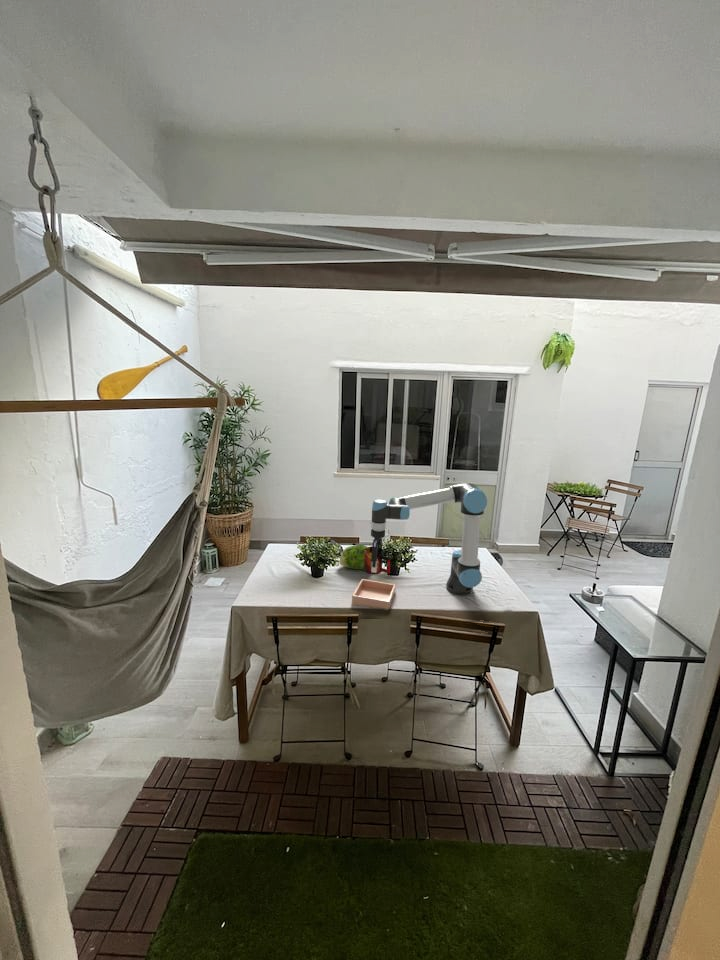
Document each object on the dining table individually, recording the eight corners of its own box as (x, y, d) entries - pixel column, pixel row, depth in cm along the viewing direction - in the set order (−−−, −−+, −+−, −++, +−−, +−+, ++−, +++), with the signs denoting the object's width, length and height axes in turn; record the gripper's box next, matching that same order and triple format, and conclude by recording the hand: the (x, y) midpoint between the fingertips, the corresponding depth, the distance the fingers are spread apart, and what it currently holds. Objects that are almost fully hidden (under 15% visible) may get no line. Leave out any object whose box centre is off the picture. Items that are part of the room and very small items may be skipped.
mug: (389, 575, 216) (390, 554, 213) (363, 574, 217) (364, 552, 214) (389, 567, 225) (390, 547, 223) (364, 566, 226) (365, 545, 223)
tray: (395, 592, 231) (395, 584, 230) (388, 610, 213) (389, 602, 211) (361, 586, 236) (361, 578, 235) (351, 603, 217) (352, 595, 216)
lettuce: (342, 564, 269) (335, 546, 264) (372, 556, 269) (366, 536, 263) (343, 579, 255) (336, 559, 249) (375, 570, 254) (369, 550, 248)
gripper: (375, 521, 226) (373, 558, 232) (366, 535, 205) (364, 575, 211) (389, 523, 225) (386, 560, 230) (380, 537, 204) (378, 578, 209)
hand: (376, 568), depth 220 cm, fingers closed on mug, 10 cm apart
